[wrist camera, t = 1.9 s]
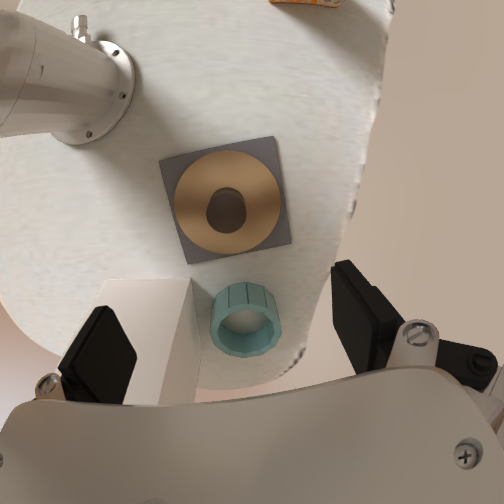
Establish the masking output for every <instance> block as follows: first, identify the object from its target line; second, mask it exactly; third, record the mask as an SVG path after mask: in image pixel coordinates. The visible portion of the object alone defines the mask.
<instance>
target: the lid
mask: <svg viewBox="0 0 504 504" xmlns="http://www.w3.org/2000/svg"><path fill="white" fill-rule="evenodd" d="M280 207H281V198H280V192H279V187H278V185H277V182H276V180H275V178H274V176H273V175H272V173H271V172H270V171H269V169H268V168H267V167H266V166H265V165H264V164H263V163H261V162H260V161H259V160H257V159H256V158H254V157H252V156H250V155H248V154H245V153H242V152H238V151H218V152H214V153H210V154H208V155H205V156H203V157H201V158H200V159H198V160H197V161H195V162H194V163H193V164H192V165H190V166H189V167H188V169H187V170H186V171H185V172H184V174H183V175H182V176H181V178H180V180H179V182H178V185H177V188H176V191H175V196H174V209H175V214H176V218H177V221H178V223H179V225H180V227H181V229H182V230H183V232H184V233H185V235H186V236H187V237H188V238H189V239H190V240H191V241H192V242H194V243H195V244H196V245H198V246H199V247H201V248H203V249H205V250H208V251H211V252H214V253H219V254H235V253H240V252H244V251H247V250H249V249H251V248H253V247H255V246H257V245H258V244H259V243H261V242H262V241H263V240H264V239H265V238H266V237H267V236H268V235H269V234H270V233H271V231H272V230H273V228H274V227H275V224H276V222H277V220H278V217H279V213H280Z"/></svg>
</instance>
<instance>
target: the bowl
mask: <svg viewBox="0 0 504 504" xmlns="http://www.w3.org/2000/svg"><path fill="white" fill-rule="evenodd" d="M210 334H211V337H212V340H213V342H214V345H215V346H216V347H218V348H219V349H220V350H222V351H223V352H225V353H226V354H228V355H232V356H237V357H242V358H244V357H245V358H246V357H252V356H258V355H261V354H263V353H265V352H267V351H268V350H270V349H271V348H273V347H274V345H276V343H277V341H278V339H279V337H280V336H281V334H282V331H281V325H280V320H279V316H278V312H277V308H276V304H275V300H274V297H273V296H272V295H271V294H270V293H269V292H268V291H267V290H266V289H265V288H264V287H262V286H258V285H254V284H251V283H247V284H246V283H240V284H235V285H230V286H228V287H227V288H225V289H224V290H223V291H222V292H220V293H219V294H218V295H217V296H216V298H215V301H214V304H213V307H212V313H211V324H210Z"/></svg>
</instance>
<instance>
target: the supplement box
mask: <svg viewBox="0 0 504 504" xmlns="http://www.w3.org/2000/svg"><path fill="white" fill-rule="evenodd" d="M343 1H344V0H269V2H288V3H289V2H290V3H307V4H317V5H323V6H329V7H335V8H337V7H339V5H340V4H341V3H343Z"/></svg>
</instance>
